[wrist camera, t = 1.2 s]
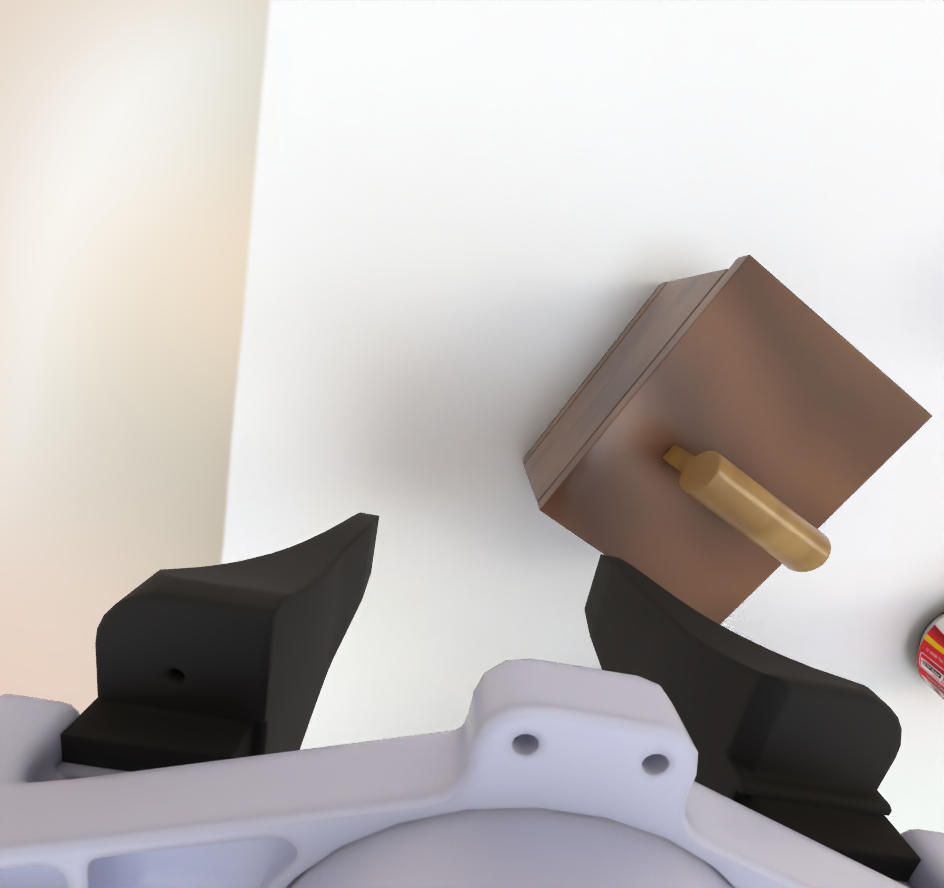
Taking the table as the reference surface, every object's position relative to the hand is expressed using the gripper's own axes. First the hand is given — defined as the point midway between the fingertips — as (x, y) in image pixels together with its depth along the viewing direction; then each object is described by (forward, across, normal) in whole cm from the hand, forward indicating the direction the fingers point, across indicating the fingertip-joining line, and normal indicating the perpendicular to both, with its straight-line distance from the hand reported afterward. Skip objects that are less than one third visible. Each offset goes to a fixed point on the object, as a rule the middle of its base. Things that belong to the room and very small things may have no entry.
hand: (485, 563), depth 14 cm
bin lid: (+4, -9, -4) cm, 11 cm away
